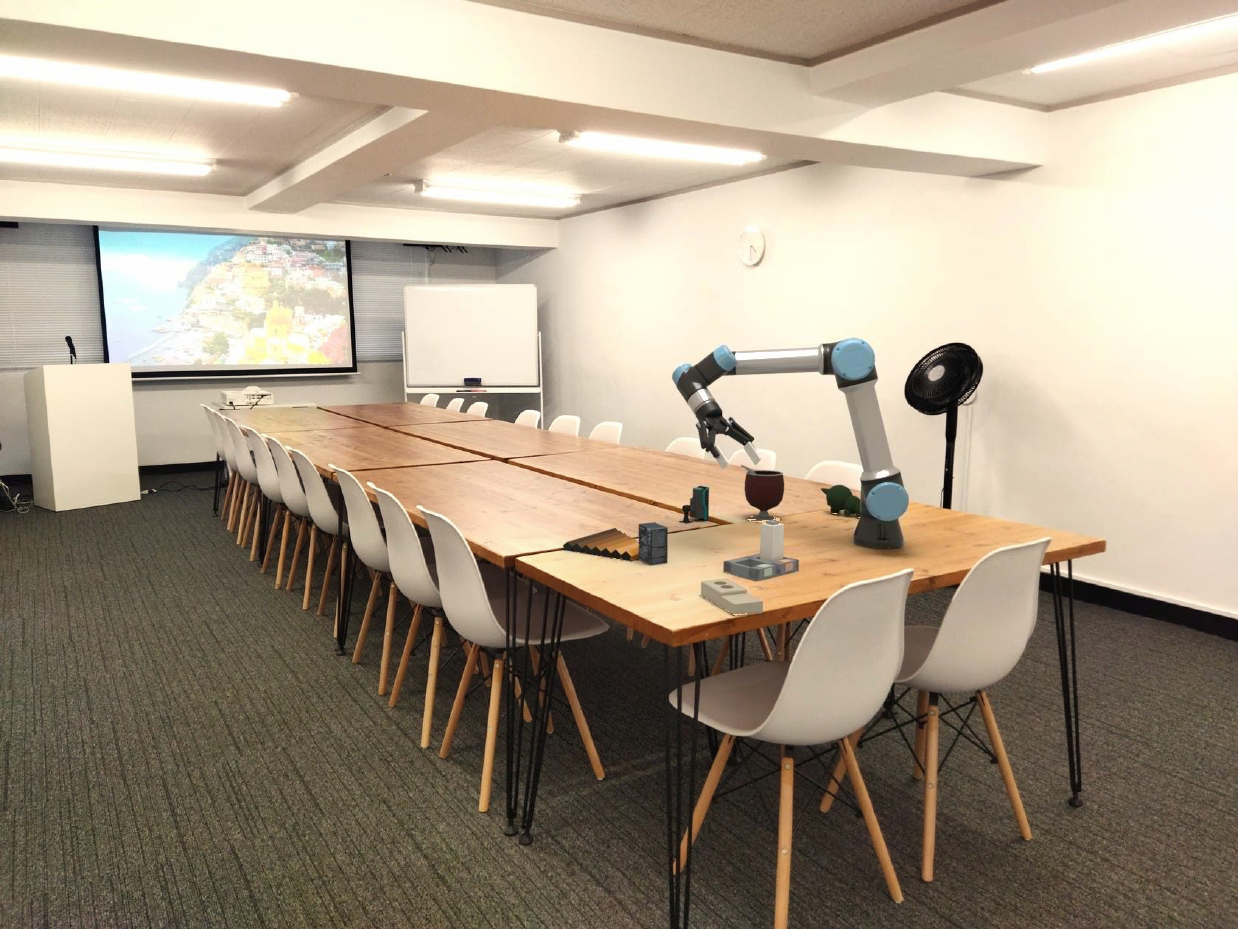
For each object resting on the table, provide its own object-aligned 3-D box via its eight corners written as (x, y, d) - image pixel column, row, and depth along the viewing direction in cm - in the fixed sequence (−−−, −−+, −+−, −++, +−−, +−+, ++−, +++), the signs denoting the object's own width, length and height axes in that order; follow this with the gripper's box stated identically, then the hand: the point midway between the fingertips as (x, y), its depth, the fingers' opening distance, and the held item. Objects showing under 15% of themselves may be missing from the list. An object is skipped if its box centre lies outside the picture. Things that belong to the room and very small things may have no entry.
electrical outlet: (734, 600, 193) (700, 580, 210) (734, 617, 194) (700, 596, 211) (762, 597, 196) (726, 578, 213) (762, 614, 196) (726, 593, 213)
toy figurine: (886, 523, 308) (824, 508, 324) (893, 471, 304) (830, 459, 320) (875, 527, 301) (812, 512, 317) (882, 474, 297) (817, 462, 313)
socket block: (765, 562, 243) (765, 551, 243) (799, 570, 234) (799, 559, 234) (723, 572, 233) (723, 560, 232) (757, 581, 223) (757, 569, 223)
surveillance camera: (677, 487, 301) (699, 485, 306) (677, 521, 302) (699, 518, 308) (687, 489, 296) (709, 487, 302) (687, 524, 298) (709, 521, 303)
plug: (770, 563, 239) (771, 518, 238) (783, 567, 236) (784, 521, 234) (759, 566, 236) (760, 520, 235) (772, 569, 233) (773, 523, 231)
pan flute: (610, 537, 279) (562, 551, 259) (610, 527, 279) (562, 540, 258) (676, 547, 265) (631, 563, 244) (676, 536, 264) (631, 551, 244)
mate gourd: (776, 516, 312) (777, 461, 310) (788, 523, 299) (790, 466, 296) (734, 517, 310) (735, 462, 308) (745, 524, 297) (746, 467, 294)
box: (637, 559, 247) (638, 523, 245) (655, 557, 249) (655, 521, 248) (650, 565, 240) (650, 528, 238) (668, 563, 242) (668, 526, 241)
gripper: (728, 414, 264) (764, 468, 255) (668, 418, 249) (704, 475, 239) (741, 398, 259) (778, 452, 250) (681, 401, 244) (718, 458, 234)
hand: (742, 463), depth 244 cm, fingers open, 13 cm apart
